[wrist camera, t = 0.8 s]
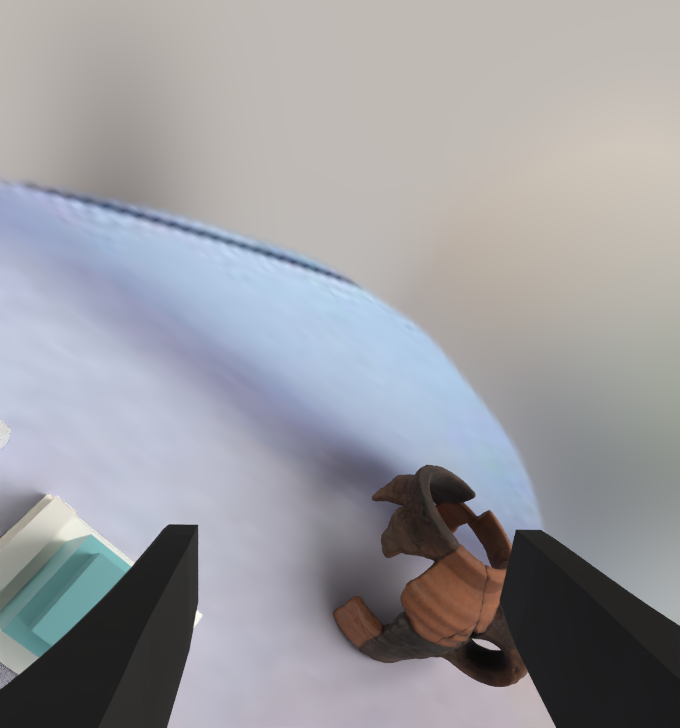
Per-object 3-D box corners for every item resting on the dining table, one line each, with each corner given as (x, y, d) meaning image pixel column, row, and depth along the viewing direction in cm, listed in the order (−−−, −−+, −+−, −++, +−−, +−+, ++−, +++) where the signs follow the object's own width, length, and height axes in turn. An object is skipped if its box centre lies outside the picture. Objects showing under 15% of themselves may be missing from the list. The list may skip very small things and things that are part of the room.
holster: (108, 736, 19) (120, 750, 17) (-74, 608, 17) (-78, 612, 16) (192, 613, 22) (209, 617, 20) (46, 494, 20) (52, 488, 19)
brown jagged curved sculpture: (284, 585, 25) (391, 494, 22) (345, 504, 34) (428, 429, 31) (450, 773, 24) (588, 702, 21) (469, 638, 33) (569, 574, 30)
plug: (91, 687, 19) (136, 730, 14) (-6, 616, 18) (4, 635, 13) (151, 608, 21) (208, 620, 16) (66, 540, 20) (99, 531, 15)
